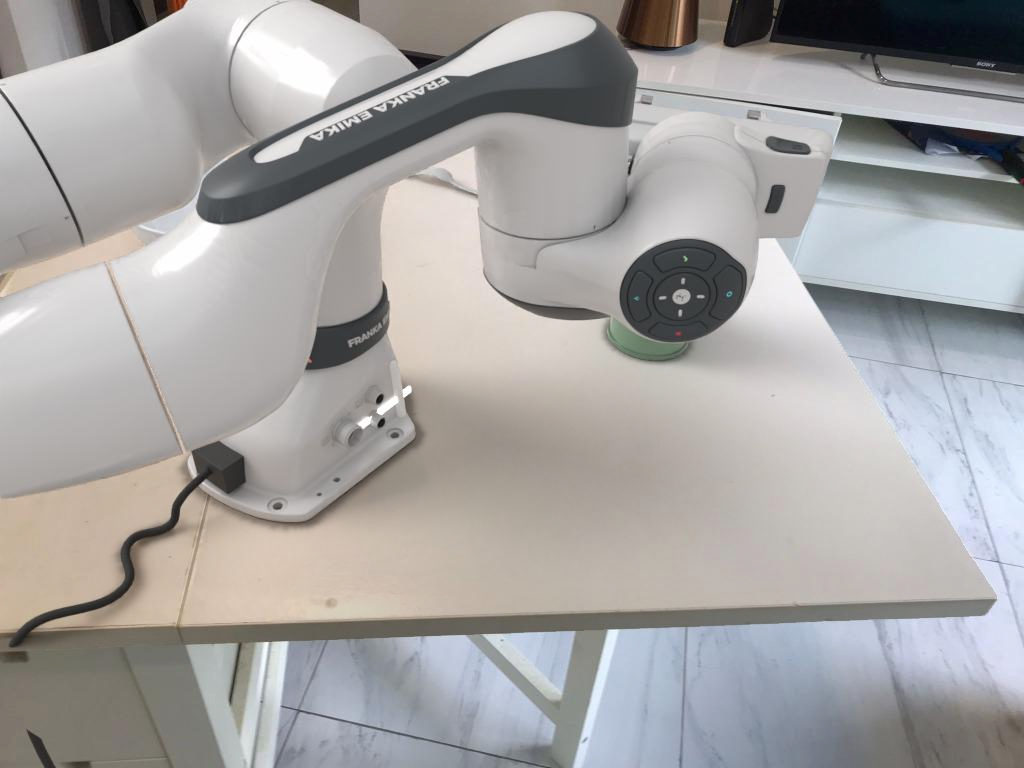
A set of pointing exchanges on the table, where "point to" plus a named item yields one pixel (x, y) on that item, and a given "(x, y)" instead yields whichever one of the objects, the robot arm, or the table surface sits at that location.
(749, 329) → the table surface
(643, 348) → the upturned mug
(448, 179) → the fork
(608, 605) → the table surface
